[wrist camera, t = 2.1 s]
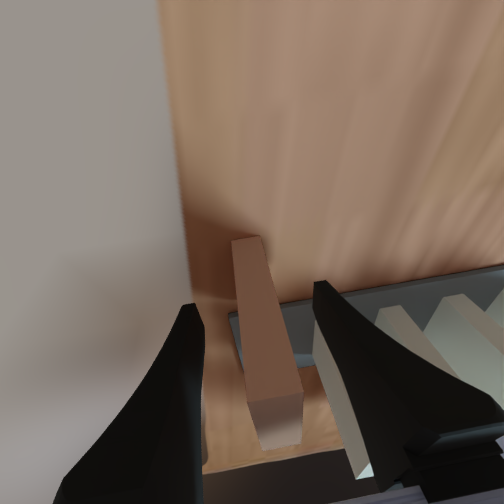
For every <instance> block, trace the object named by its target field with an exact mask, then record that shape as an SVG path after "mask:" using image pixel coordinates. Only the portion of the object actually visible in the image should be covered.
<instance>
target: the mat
mask: <svg viewBox="0 0 504 504" xmlns="http://www.w3.org/2000/svg"><path fill="white" fill-rule="evenodd" d="M503 288H504V265H501V266H495V267H489V268H484V269H478V270H472V271H467V272H461V273H455V274H450V275H444V276H438V277H433V278H427V279H421V280H416V281H410V282H404V283H399V284H393V285H387V286H382V287H376V288H370V289H365V290H359V291H353V292H348V293H342V294H340V295H341V296H342V297H344V298H345V299H346V300H347V301H348V302H349V303H350V304H351V305H352V306H353V307H354V308H355V309H357V310H358V311H359V312H360V313H361V314H362V315H363V316H365V317H366V318H367V319H368V320H369V321H371V322H372V323H373V324H375V321H376V318H377V315H378V312H379V309H380V308H385V307H391V306H397V305H401V306H402V308H403V309H404V310H405V311H406V313H407V314H408V315H409V316H410V317H411V319H412V320H413V321H414V322H415V324H416V325H417V326H418V327H419V329H420V330H421V331H422V332H423V331H424V329H425V328H426V326H427V324H428V322H429V321H430V319H431V317H432V316H433V314H434V312H435V310H436V309H437V307H438V305H439V303H440V302H441V300H442V298H443V297H447V296H452V295H458V294H464V295H465V296H467V297H468V298H469V299H470V300H471V301H472V302H474V303H475V304H476V305H477V306H478V307H479V308H480V309H482V310H483V311H484V312H485V311H486V310H487V309H488V307H489V306H490V305H491V304H492V302H493V301H494V300H495V298H496V297H497V296H498V295H499V293H500V292H501V291H502V290H503ZM312 303H313V299H308V300H302V301H297V302H291V303H285V304H280V309H281V312H282V316H283V319H284V323H285V326H286V330H287V333H288V337H289V340H290V344H291V347H292V351H293V355H294V358H295V362H296V365H297V368H302V367H308V366H313V365H316V364H315V361H314V359H313V356H312V351H313V339H314V328H315V320H316V318H315V315H314V312H313V309H312ZM228 315H229V321H230V325H231V328H232V332H233V335H234V339H235V343H236V346H237V350H238V353H239V357H240V360H241V364H242V367H243V371H244V366H243V356H242V346H241V336H240V326H239V316H238V312H234V313H229V314H228Z"/></svg>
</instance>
